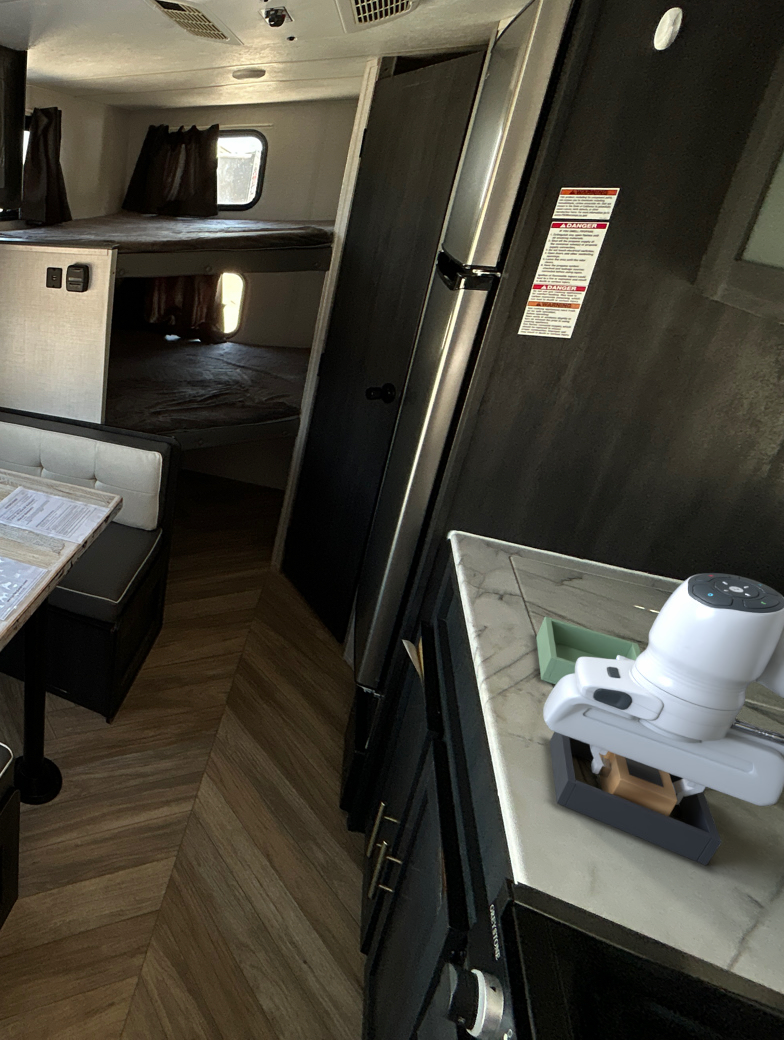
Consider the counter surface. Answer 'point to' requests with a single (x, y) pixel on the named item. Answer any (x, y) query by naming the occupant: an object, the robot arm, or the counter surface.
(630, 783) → the package
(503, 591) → the counter surface
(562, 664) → the green tote
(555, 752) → the frame
